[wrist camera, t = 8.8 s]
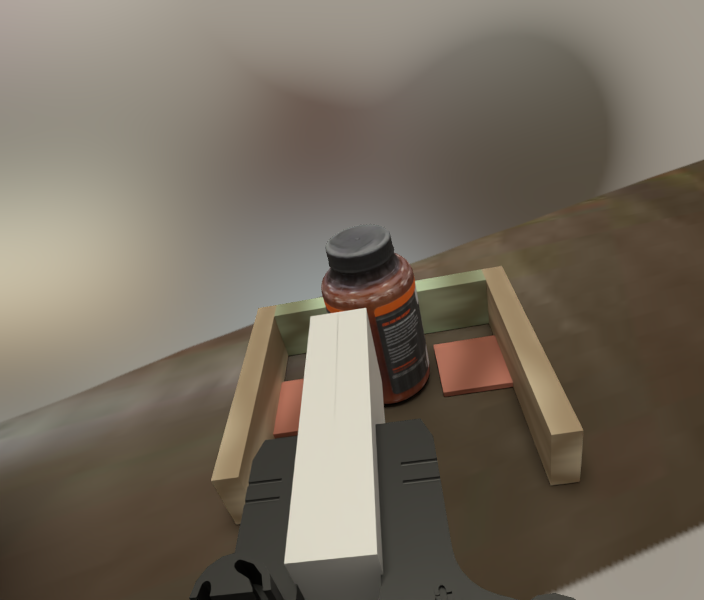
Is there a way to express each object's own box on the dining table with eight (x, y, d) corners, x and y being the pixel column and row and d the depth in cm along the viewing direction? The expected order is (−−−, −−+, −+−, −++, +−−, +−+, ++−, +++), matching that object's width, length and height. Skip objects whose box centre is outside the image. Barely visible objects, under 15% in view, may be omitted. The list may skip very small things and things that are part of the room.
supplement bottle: (442, 357, 37) (422, 216, 31) (413, 417, 33) (383, 268, 26) (369, 345, 40) (338, 214, 33) (334, 399, 35) (290, 261, 29)
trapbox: (235, 524, 29) (211, 480, 26) (272, 347, 42) (258, 308, 40) (579, 481, 26) (583, 430, 24) (503, 309, 40) (501, 265, 38)
